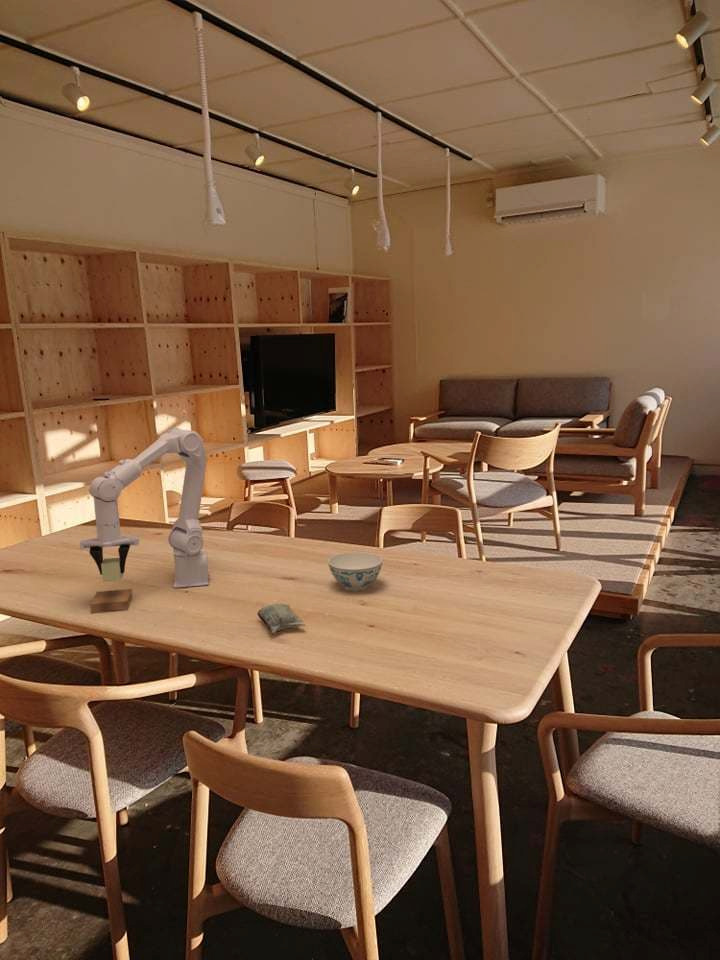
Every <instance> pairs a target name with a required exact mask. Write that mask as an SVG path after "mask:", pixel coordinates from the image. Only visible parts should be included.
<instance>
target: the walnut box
mask: <svg viewBox="0 0 720 960" xmlns="http://www.w3.org/2000/svg"><path fill="white" fill-rule="evenodd" d="M133 596H134V595H133V589H132V588H128V589H115V590H113V589H112V590H104V591H103V590H102V591H101V590H100V591H96V593H95V595H94V596H93V599H92V601H91V602H90V612H91V615H92V614H102V613H103V614H105V613H115V612H125V611H126V612H127V611H129V610H130V606H131V603H132V600H133Z"/></svg>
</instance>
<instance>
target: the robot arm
mask: <svg viewBox="0 0 720 960" xmlns="http://www.w3.org/2000/svg"><path fill="white" fill-rule="evenodd" d="M204 442H205V441H204V439H203V437H202V436H201V435H200V434H199V433H198V432H197V431H195V430H187V429H182V428H179V427H174V428H170V429H169V430H168V431H167V432H165V433H162V434H161V435H160V437H159V438H158V439H156V441H155V442H153V443H151V445H149V446H148V447H147V448H145V450H143V451H142V452H141V453H139V455H137V456H136V457H135V458H134V459H130V458H126V459H121V460H119V461H118V464H117V465H116V466H115V467H113V468H112V469H111V470H110V471H105V472H104V473H103V476H98V477H95V478H94V479H93V480H92V481H91V483H90V486H89V488H88V493H89V494H90V495H91V497H93V501H94V502H93V504H94V514H95V523H96V524H95V526H96V536H97V537H95V538H89V539H81V540H80V541H79V549H80V550H85V549H89V551H88V552H89V555H90V556H91V557H92V559H93V560H94V562H95V564H96V566H97V568H98V572H99V575H100V576H102V568H101V563H102V562H103V560H104V557H103V556H104V555H103V551H104V550H103V548H111V547H118V548H117V551H118V558H120V570H121V573H123V574H124V573H125V572H126V570H125V569H126V561H127V557H128V553H129V551H130V548H131V547H132V546H135V547H136V546H137V547H138V546H139V545H140V537H139V536H126V535H125V536H122V535H121V526H120V525H121V524H120V515H119V503H118V499H119V497H120V495H121V492H122V491H123V490H125V488H126V487H128V486H129V485H130V484H132V483H133V482H135V481H136V480H137V479H139V478H140V477H141V475H142V471H143V470H144V469H145V468H146V467H148V466H149V465H151V464H152V463H154V462H155V461H157V460H158V459H160V458H161V457H163V456H164V455H165V454H178V455H179V457H181V459H182V460H183V461H184V462H185V465H186V466H185V471H184V476H183V477H184V479H183V485H182V493H181V500H180V506H179V513H178V518H177V519H176V520H175V521H174V522H173V524H172V529H171V531H170V532H169V534H168V537H167V538H168V539H167V540H168V544H169V546H170V547H172V549H173V552H172V553H173V561H174V572H175V573H174V574H175V578H174V583H173V588H174V589H176V588H177V589H178V588H187V587H198V586H199V587H200V586H201V587H202V586H209V580H210V576H211V575H210V570H209V561H208V559H209V558H208V551H202V549H203V547H204V538H203V527H202V526H201V523H200V522H199V517H200V510H201V503H202V497H203V488H204V482H205V475H206V468H207V461H208V460H207V459H208V458H207V454H206V451H205V447H204Z"/></svg>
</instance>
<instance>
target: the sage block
mask: <svg viewBox="0 0 720 960" xmlns="http://www.w3.org/2000/svg"><path fill="white" fill-rule="evenodd" d="M101 568H102V575H101V577H102V583H110V582H122V579H123V578H124V573H121V570H120V557H109V558H107V557H106V558H103V562H102V563H101Z"/></svg>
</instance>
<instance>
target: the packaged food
mask: <svg viewBox="0 0 720 960" xmlns="http://www.w3.org/2000/svg"><path fill="white" fill-rule="evenodd" d="M256 615H257V616H258V618H259V619H260V620H261V622H263V623H264V625H265V626H266V627H267V629H268V631H269V632H270V633H273V634H276V633H280V632H285V631H289V630H293V629H296V628H298V627H306V622H305V621H304V620H303V619H302V618H300V616H299V615H298V614H297V613H295V612H294V611H293V609H291V606H290V604H284V603H278V602H276V603H273V604H269V605H267V606H265V607H264V606H263V607H262V608H260V609H259V610H258V611H257V613H256Z"/></svg>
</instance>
